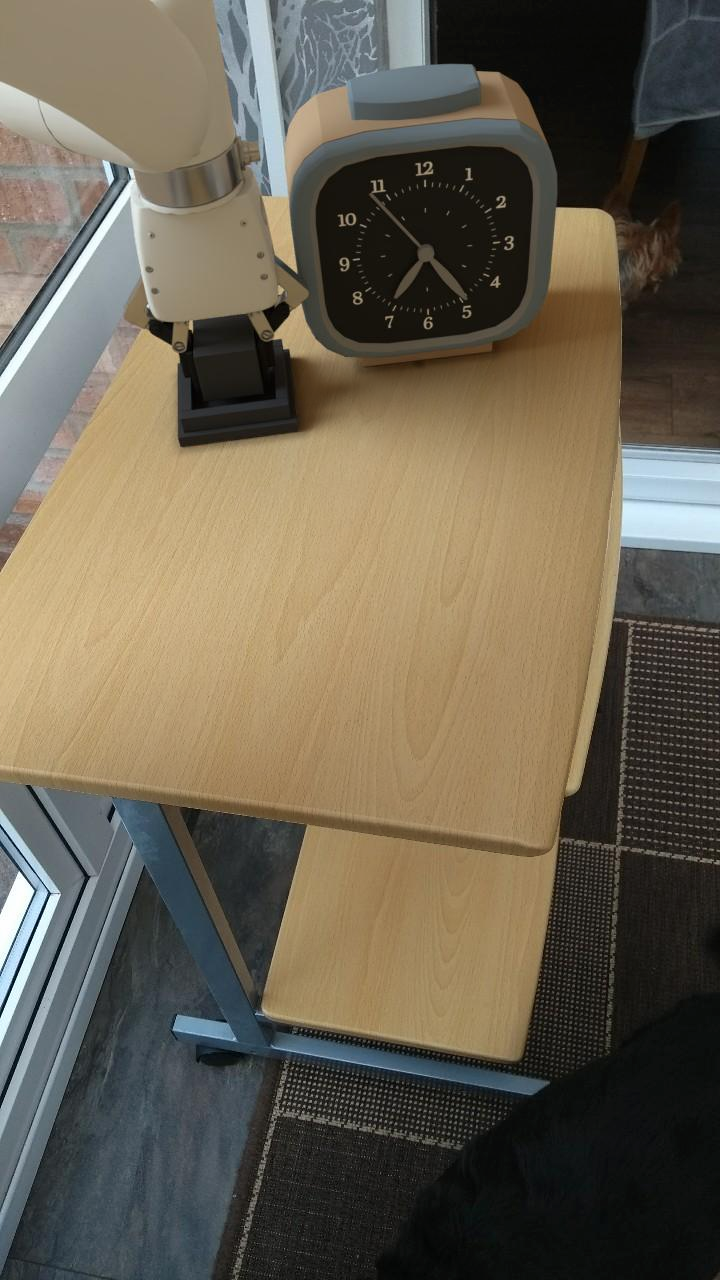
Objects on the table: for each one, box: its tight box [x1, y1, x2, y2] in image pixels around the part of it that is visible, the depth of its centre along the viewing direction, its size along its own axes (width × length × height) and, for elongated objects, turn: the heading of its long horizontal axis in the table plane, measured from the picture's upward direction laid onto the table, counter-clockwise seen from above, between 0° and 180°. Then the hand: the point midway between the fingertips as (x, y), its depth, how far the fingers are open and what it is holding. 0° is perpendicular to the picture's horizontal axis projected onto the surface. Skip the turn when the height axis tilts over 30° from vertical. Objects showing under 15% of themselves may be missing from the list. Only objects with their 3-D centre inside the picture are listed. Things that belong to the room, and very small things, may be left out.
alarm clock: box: [284, 63, 558, 367], centre depth 83 cm, size 21×10×22 cm, turn 95°
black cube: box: [192, 313, 264, 401], centre depth 85 cm, size 5×5×4 cm
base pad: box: [176, 338, 300, 448], centre depth 87 cm, size 10×10×2 cm
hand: (232, 375), depth 86 cm, fingers closed on black cube, 5 cm apart
